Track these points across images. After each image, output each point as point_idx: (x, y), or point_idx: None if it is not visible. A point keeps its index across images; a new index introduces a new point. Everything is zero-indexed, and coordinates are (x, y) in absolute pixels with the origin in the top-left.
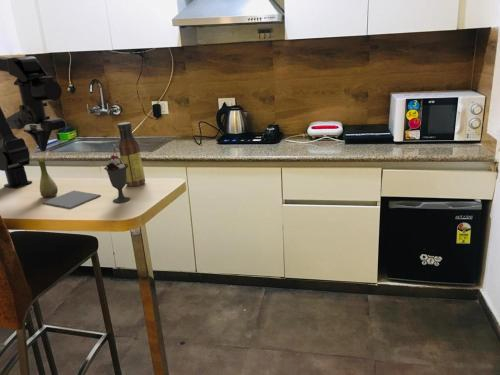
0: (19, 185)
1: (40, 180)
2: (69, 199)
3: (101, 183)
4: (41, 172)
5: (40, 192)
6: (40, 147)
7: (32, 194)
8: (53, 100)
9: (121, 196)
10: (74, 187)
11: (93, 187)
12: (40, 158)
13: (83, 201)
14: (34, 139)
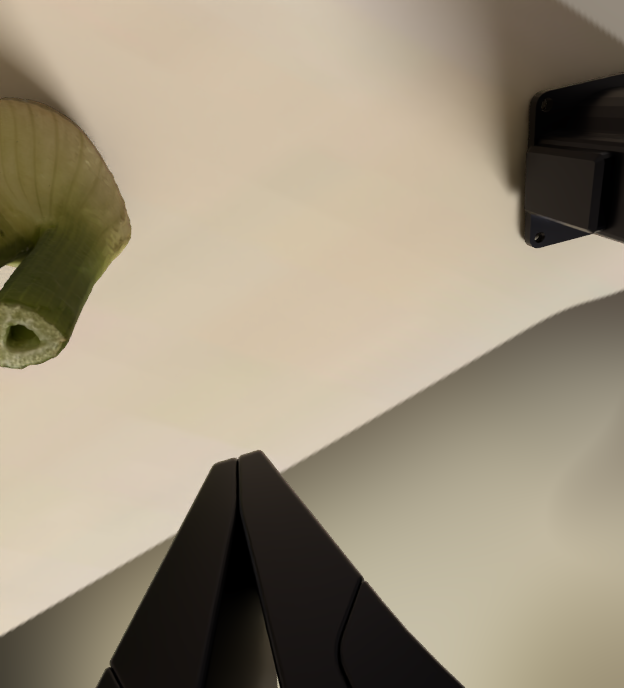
0: (536, 139)
1: (5, 143)
2: None
3: (67, 511)
4: None
5: (29, 103)
6: (226, 501)
7: (241, 106)
8: None
9: None
10: (132, 381)
11: (12, 456)
12: (2, 312)
13: None
14: (369, 633)
